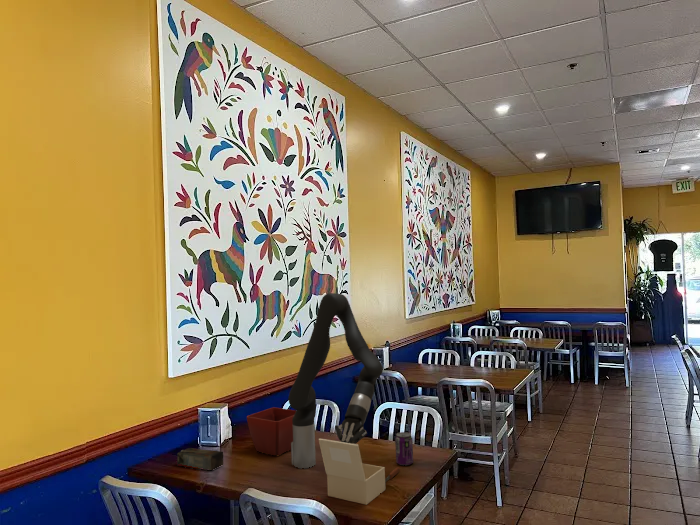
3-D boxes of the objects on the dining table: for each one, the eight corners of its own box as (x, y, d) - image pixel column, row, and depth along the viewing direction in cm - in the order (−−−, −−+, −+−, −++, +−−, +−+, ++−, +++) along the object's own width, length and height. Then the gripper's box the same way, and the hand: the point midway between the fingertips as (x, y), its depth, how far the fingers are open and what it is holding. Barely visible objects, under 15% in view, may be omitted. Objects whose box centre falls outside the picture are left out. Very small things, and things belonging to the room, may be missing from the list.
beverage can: (412, 466, 205) (411, 437, 206) (395, 466, 207) (394, 436, 207) (413, 460, 212) (412, 432, 213) (397, 460, 214) (396, 431, 214)
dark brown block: (189, 460, 223) (189, 445, 223) (224, 465, 215) (224, 450, 215) (176, 466, 216) (176, 451, 216) (212, 472, 208) (212, 456, 208)
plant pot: (305, 447, 234) (304, 411, 235) (278, 460, 218) (277, 421, 219) (274, 441, 245) (273, 406, 245) (246, 453, 229) (245, 416, 229)
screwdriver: (397, 471, 202) (396, 466, 202) (400, 471, 201) (400, 466, 201) (381, 486, 188) (380, 480, 188) (384, 486, 187) (384, 481, 187)
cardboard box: (327, 495, 180) (327, 473, 181) (348, 481, 192) (347, 460, 193) (366, 504, 172) (365, 480, 172) (385, 489, 184) (384, 467, 184)
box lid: (327, 472, 181) (326, 474, 180) (319, 438, 178) (318, 439, 177) (365, 480, 172) (364, 481, 172) (358, 444, 169) (357, 445, 169)
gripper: (339, 401, 187) (322, 445, 176) (370, 405, 180) (354, 450, 169) (347, 412, 191) (331, 455, 180) (377, 416, 184) (363, 461, 173)
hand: (342, 453), depth 175 cm, fingers closed
